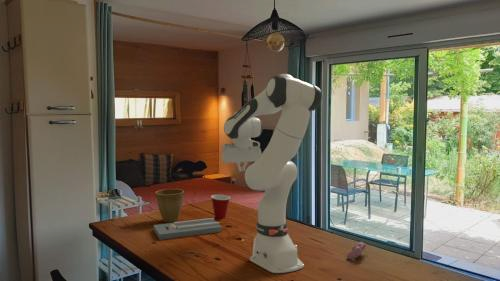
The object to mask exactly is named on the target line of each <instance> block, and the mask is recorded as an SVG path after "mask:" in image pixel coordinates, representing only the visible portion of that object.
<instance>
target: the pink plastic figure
mask: <svg viewBox="0 0 500 281" xmlns="http://www.w3.org/2000/svg"><path fill="white" fill-rule="evenodd" d="M366 245H367V244H366V243H365V242H362V241H360V242H357V243H356V245H354V246H353V247H352V248H351V251H350V252H349V253H347V255H346V259H348V260H353V259H355V258H356V259H358V258H359V256H362V255H363V251H364V249H365V248H366Z"/></svg>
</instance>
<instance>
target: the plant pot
mask: <svg viewBox="0 0 500 281" xmlns="http://www.w3.org/2000/svg"><path fill="white" fill-rule="evenodd" d="M184 193H185V190H183V189H180V188H167V189H165V188H164V189H160V190H157V191H155V197H156V201H157V202H156V203H157V206H158V210H159V212H160V216H161V219H162V220H163V222H164V223H166V224H167V223H174V222H178V220H179V217H180V214H181V211H182V207H183V201H184V196H185V195H184Z"/></svg>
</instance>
